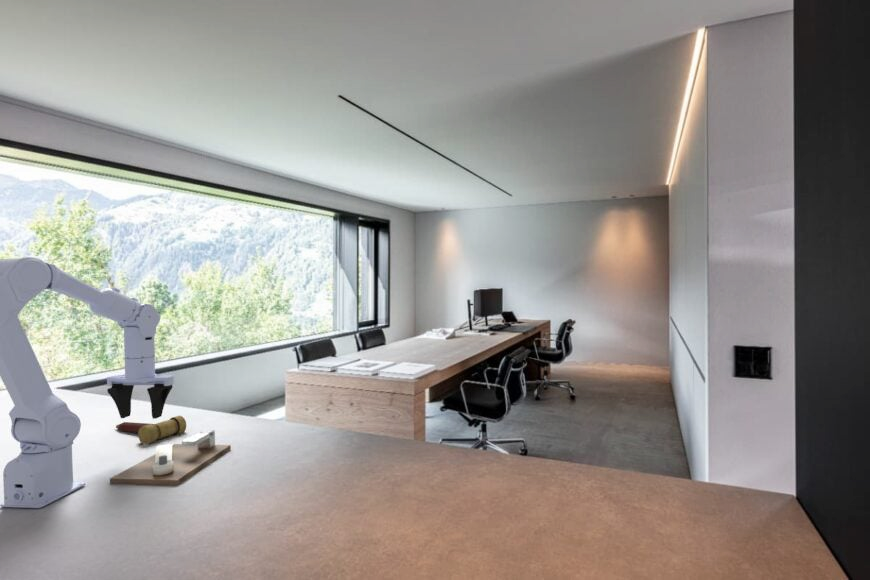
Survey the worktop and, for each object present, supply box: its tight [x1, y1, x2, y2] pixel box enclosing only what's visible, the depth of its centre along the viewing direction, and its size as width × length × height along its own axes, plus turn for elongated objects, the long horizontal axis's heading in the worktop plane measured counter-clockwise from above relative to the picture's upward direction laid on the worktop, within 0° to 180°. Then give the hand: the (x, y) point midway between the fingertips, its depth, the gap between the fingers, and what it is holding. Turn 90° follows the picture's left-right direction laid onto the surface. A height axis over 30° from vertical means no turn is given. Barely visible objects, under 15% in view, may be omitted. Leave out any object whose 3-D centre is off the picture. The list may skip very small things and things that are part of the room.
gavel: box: [115, 415, 187, 445], centre depth 120 cm, size 21×5×10 cm
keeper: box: [181, 429, 216, 449], centre depth 104 cm, size 8×3×4 cm, turn 174°
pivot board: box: [109, 443, 231, 486], centre depth 99 cm, size 19×14×1 cm
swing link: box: [153, 443, 174, 475], centre depth 97 cm, size 14×4×3 cm, turn 29°
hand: (141, 417), depth 104 cm, fingers open, 7 cm apart
